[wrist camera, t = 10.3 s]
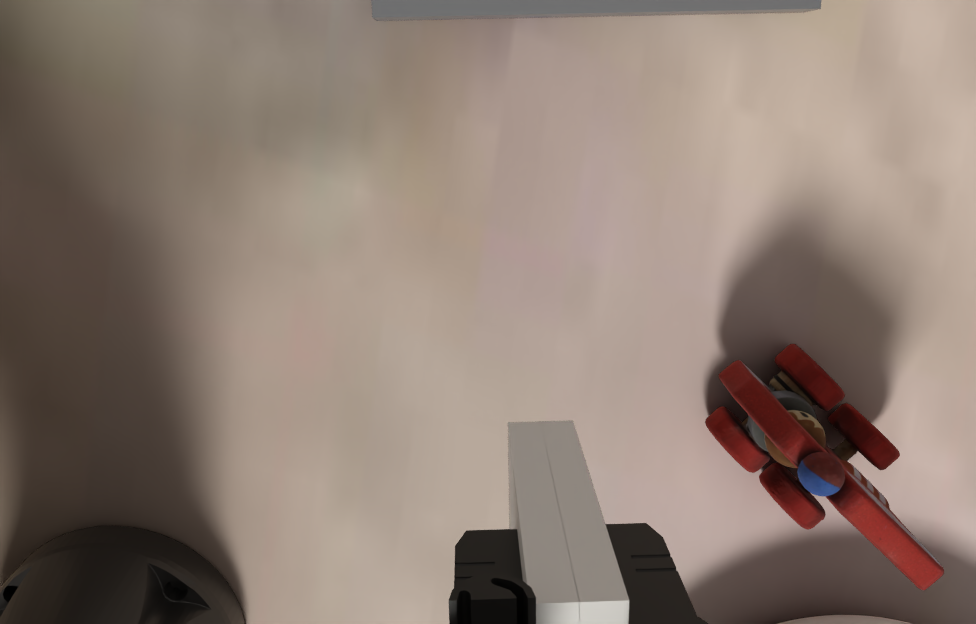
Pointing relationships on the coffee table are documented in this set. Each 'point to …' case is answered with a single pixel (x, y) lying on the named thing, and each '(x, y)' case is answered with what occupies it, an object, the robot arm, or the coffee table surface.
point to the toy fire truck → (816, 455)
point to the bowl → (844, 620)
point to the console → (575, 8)
